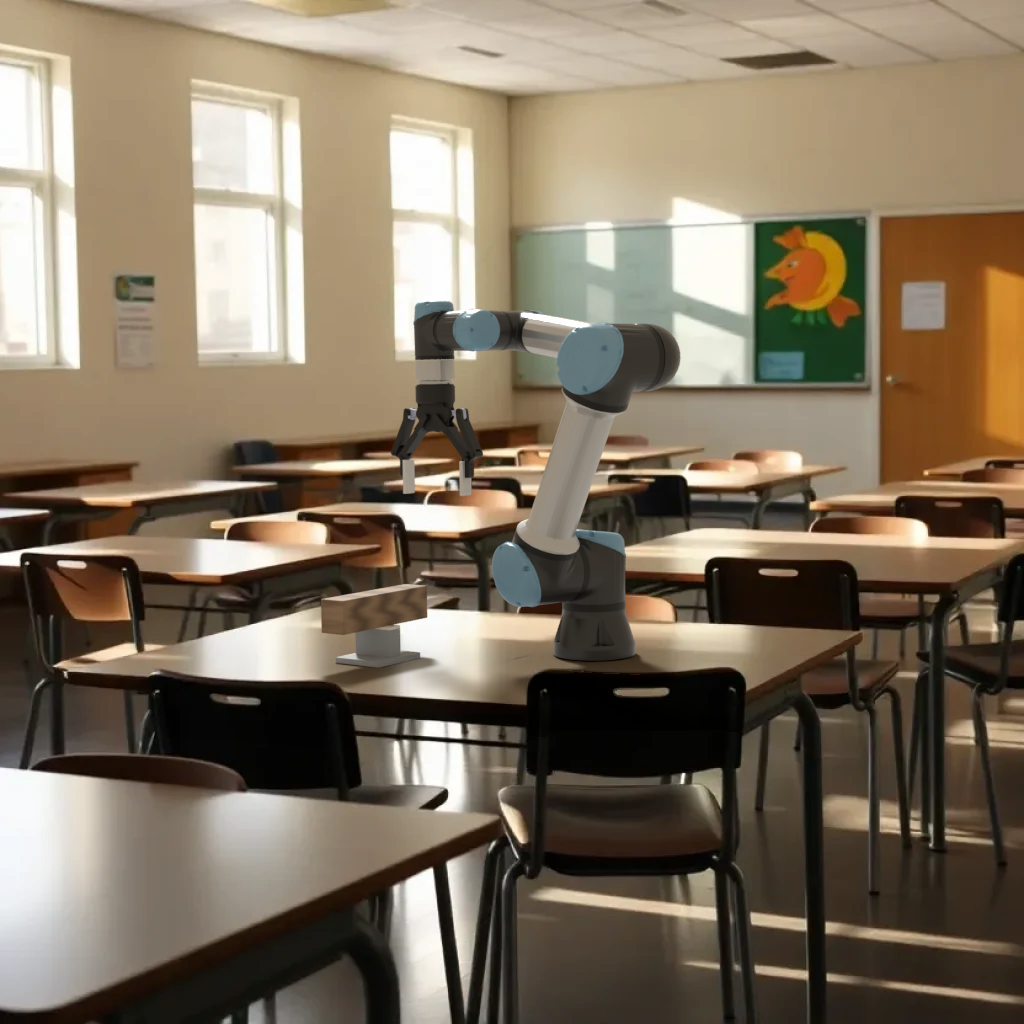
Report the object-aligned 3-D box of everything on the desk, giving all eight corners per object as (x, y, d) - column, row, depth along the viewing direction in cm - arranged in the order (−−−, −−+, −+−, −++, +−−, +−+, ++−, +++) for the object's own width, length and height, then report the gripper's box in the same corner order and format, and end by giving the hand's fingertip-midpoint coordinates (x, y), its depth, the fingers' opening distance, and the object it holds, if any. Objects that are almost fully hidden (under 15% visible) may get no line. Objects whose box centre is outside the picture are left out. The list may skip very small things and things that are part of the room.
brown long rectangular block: (406, 615, 325) (405, 584, 325) (427, 617, 322) (426, 585, 322) (321, 632, 306) (320, 599, 305) (343, 635, 303) (342, 601, 302)
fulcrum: (420, 657, 317) (419, 622, 316) (378, 667, 307) (377, 631, 306) (378, 653, 322) (377, 618, 322) (335, 662, 313) (334, 627, 312)
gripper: (500, 382, 325) (501, 495, 326) (396, 382, 339) (398, 491, 341) (476, 382, 318) (478, 497, 320) (371, 383, 333) (373, 493, 335)
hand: (437, 494), depth 331 cm, fingers open, 13 cm apart
